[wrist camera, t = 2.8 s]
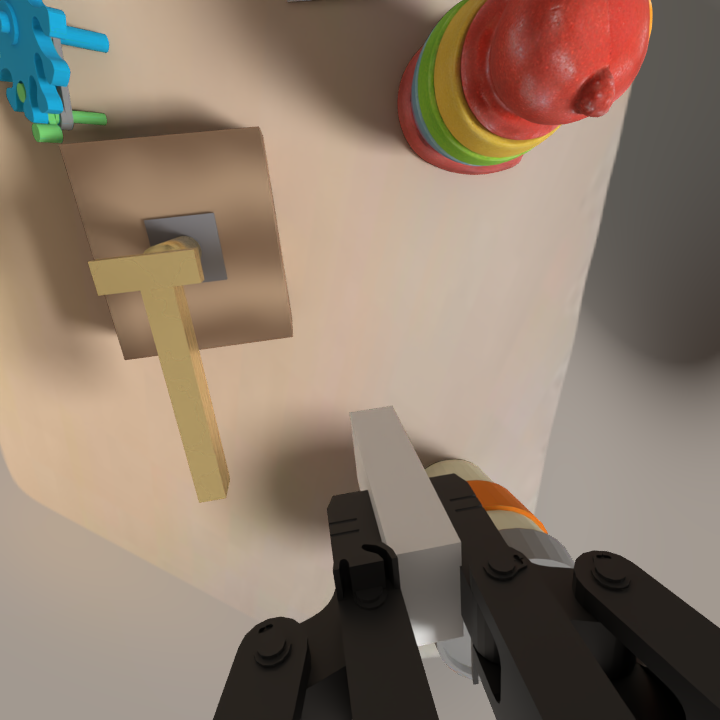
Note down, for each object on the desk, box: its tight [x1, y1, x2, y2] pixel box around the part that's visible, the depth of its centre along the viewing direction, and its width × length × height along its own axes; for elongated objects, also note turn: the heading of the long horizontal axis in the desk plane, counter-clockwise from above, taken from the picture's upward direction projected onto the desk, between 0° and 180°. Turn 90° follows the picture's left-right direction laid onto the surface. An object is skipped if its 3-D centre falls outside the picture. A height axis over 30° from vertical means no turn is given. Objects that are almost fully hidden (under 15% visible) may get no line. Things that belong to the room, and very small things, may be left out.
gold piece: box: [88, 236, 230, 503], centre depth 28 cm, size 15×5×9 cm, turn 6°
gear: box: [0, 0, 109, 143], centre depth 28 cm, size 11×6×10 cm
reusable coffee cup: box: [425, 459, 575, 681], centre depth 40 cm, size 12×13×15 cm
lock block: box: [59, 127, 293, 360], centre depth 32 cm, size 14×12×5 cm
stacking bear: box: [397, 0, 652, 175], centre depth 26 cm, size 11×10×18 cm
